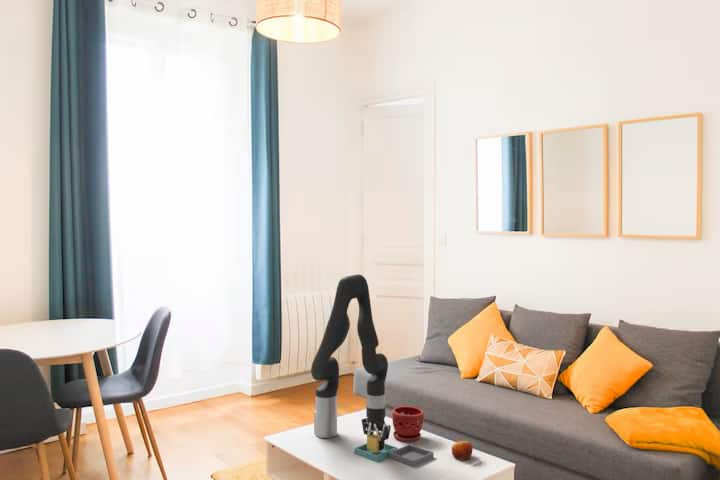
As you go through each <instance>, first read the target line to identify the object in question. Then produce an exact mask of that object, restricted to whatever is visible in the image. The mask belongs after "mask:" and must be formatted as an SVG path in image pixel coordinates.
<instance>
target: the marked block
mask: <svg viewBox="0 0 720 480" xmlns="http://www.w3.org/2000/svg"><path fill="white" fill-rule="evenodd" d="M381 437H382V436H381ZM366 443H367V449H368V450H370V451H373V452H376V453H377V452H379V451H381V450H379V438H378V435H377V434H376V433H374V434H373V435H370V436H367V435H366ZM385 443H386V440H384V449H385ZM384 449H383V450H384Z"/></svg>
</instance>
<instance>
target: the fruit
mask: <svg viewBox="0 0 720 480" xmlns="http://www.w3.org/2000/svg"><path fill="white" fill-rule="evenodd" d="M473 449H474V448H473V445H472V443H471V442H470V441H467V440H458V441H456V442H455V443H453V444H452V446H451V454H452V456H453V458H454V459H456V460H458V461H464V460H471V457H472V454H473Z"/></svg>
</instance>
